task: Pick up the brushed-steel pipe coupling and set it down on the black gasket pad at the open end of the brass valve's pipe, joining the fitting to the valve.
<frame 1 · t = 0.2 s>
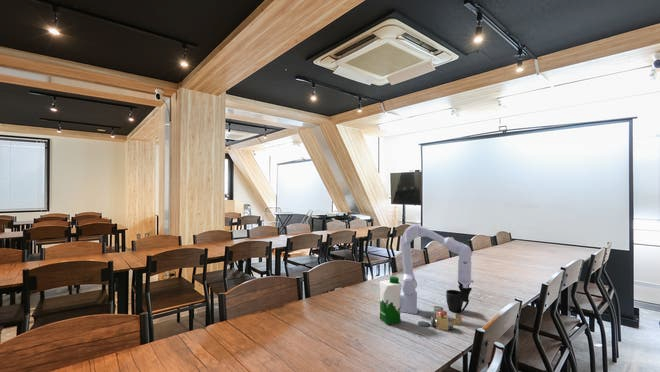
hand: (464, 299, 142), 10 cm above the table, fingers open, 7 cm apart
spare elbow: (456, 323, 137), on the table
gasket pad: (424, 324, 136), on the table
milk carton: (389, 321, 138), on the table
brass valve: (442, 327, 133), on the table
mug: (457, 312, 150), on the table
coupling: (438, 318, 143), on the table
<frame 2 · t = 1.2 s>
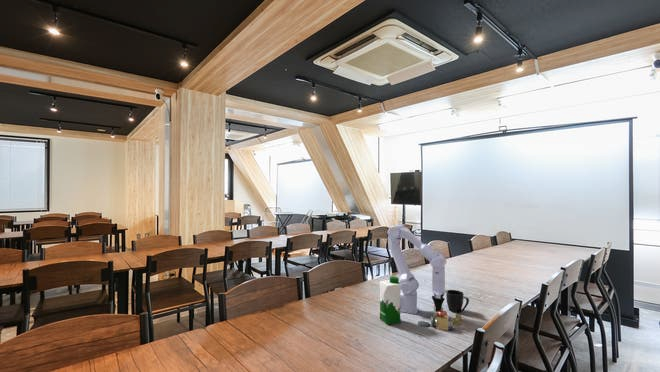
hand: (438, 308, 143), 4 cm above the table, fingers open, 7 cm apart
nothing on the table moved.
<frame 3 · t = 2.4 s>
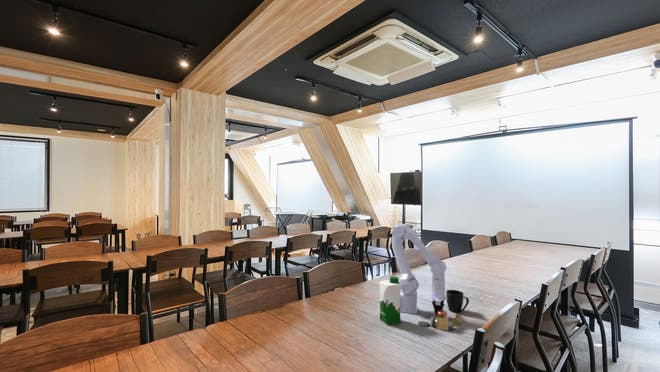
hand: (438, 315, 143), 1 cm above the table, fingers closed on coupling, 4 cm apart
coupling: (438, 318, 143), on the table, touching gripper
everything else where it was.
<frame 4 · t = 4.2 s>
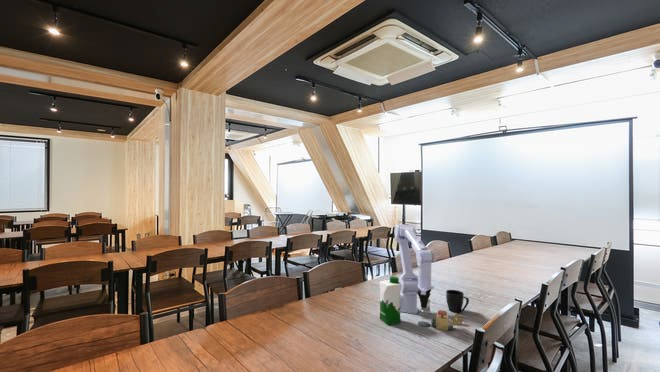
hand: (424, 305, 136), 8 cm above the table, fingers closed on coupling, 4 cm apart
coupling: (425, 310, 136), point 6 cm above the table, touching gripper
everything else where it was.
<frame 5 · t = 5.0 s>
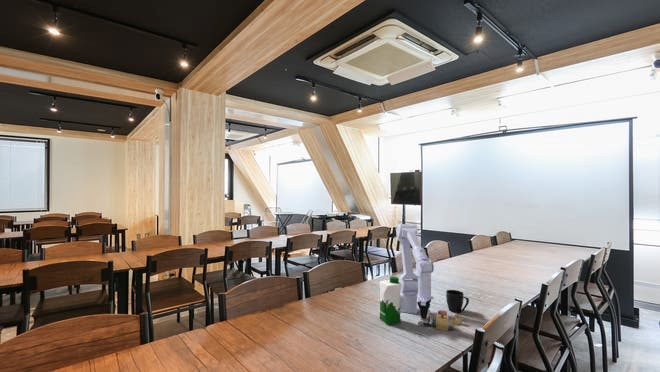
hand: (424, 316, 136), 4 cm above the table, fingers closed on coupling, 4 cm apart
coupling: (425, 321, 136), point 1 cm above the table, touching gripper
everything else where it was.
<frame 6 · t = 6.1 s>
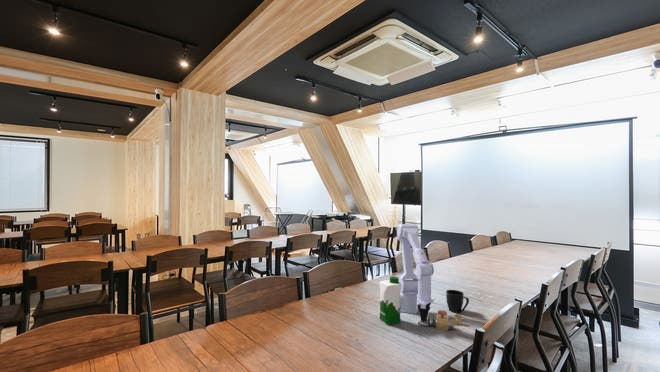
hand: (424, 319, 136), 2 cm above the table, fingers closed on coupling, 4 cm apart
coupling: (425, 323, 136), resting on gasket pad, touching gripper
everything else where it was.
when the fingers open (2 cm above the table, at t = 6.1 s): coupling stays where it is, resting on gasket pad.
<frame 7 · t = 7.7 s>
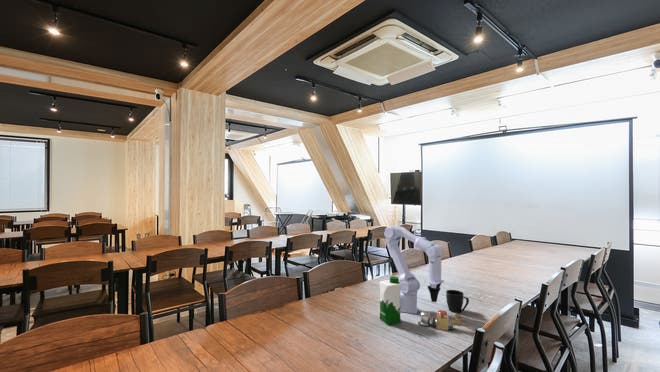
hand: (434, 299, 141), 10 cm above the table, fingers open, 7 cm apart
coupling: (425, 323, 136), resting on gasket pad
everything else where it was.
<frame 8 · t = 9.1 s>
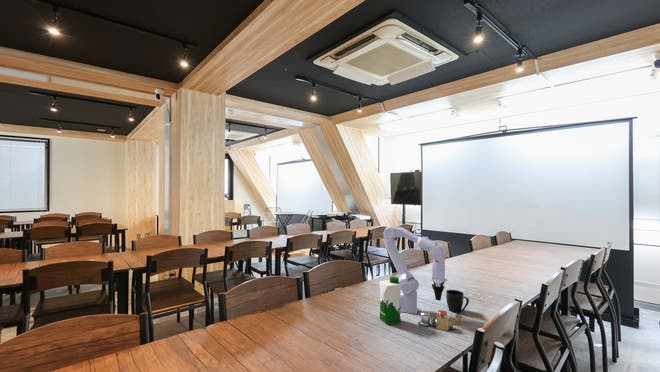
hand: (438, 297, 143), 10 cm above the table, fingers open, 7 cm apart
nothing on the table moved.
at the end: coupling 0.6 cm from the target spot on the table beside the brass valve, resting on gasket pad; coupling tilted 0°; the gripper is holding nothing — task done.
